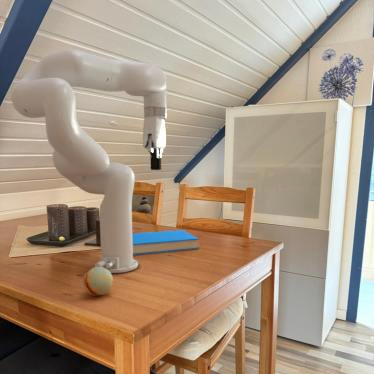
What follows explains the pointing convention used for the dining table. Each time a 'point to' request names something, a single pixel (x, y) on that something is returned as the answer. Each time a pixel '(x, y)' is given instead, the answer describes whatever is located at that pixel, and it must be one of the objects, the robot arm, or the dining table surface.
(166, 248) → the book
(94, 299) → the dining table surface
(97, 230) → the bookend
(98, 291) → the ball
